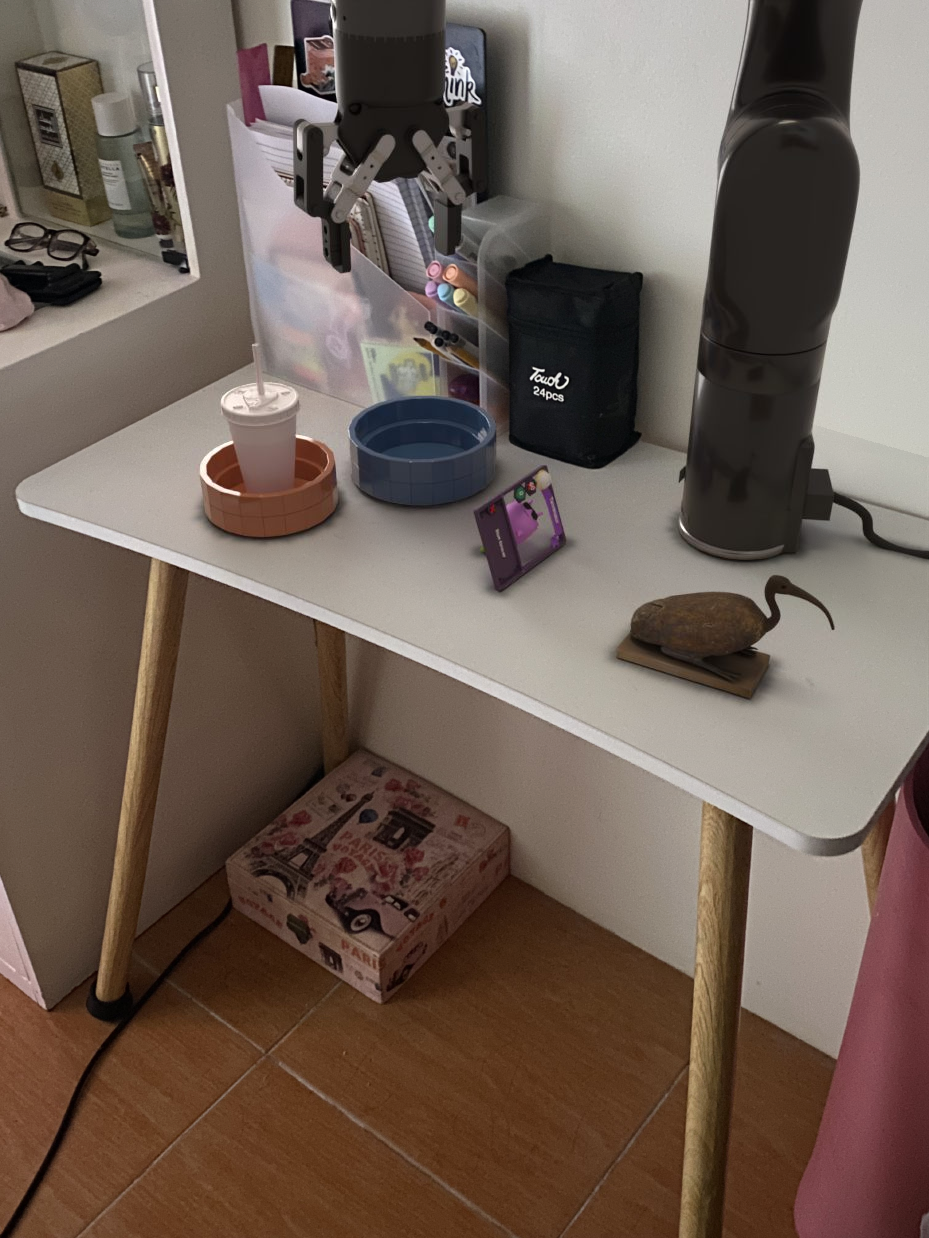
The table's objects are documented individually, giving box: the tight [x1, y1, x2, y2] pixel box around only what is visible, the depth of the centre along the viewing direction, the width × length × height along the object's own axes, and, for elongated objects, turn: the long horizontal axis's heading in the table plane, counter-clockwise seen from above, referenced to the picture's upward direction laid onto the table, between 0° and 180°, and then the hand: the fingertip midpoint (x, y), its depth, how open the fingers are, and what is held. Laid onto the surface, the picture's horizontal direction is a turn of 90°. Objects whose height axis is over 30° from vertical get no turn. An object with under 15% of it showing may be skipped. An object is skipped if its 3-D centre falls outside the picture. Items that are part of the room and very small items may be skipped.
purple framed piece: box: [472, 464, 567, 591], centre depth 96 cm, size 7×5×9 cm
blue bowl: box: [347, 395, 497, 506], centre depth 107 cm, size 13×13×4 cm
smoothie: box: [220, 343, 302, 494], centre depth 100 cm, size 6×6×14 cm
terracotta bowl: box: [198, 433, 339, 538], centre depth 103 cm, size 11×11×4 cm
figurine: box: [615, 574, 836, 699], centre depth 83 cm, size 14×4×9 cm, turn 61°
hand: (394, 261), depth 91 cm, fingers open, 8 cm apart
